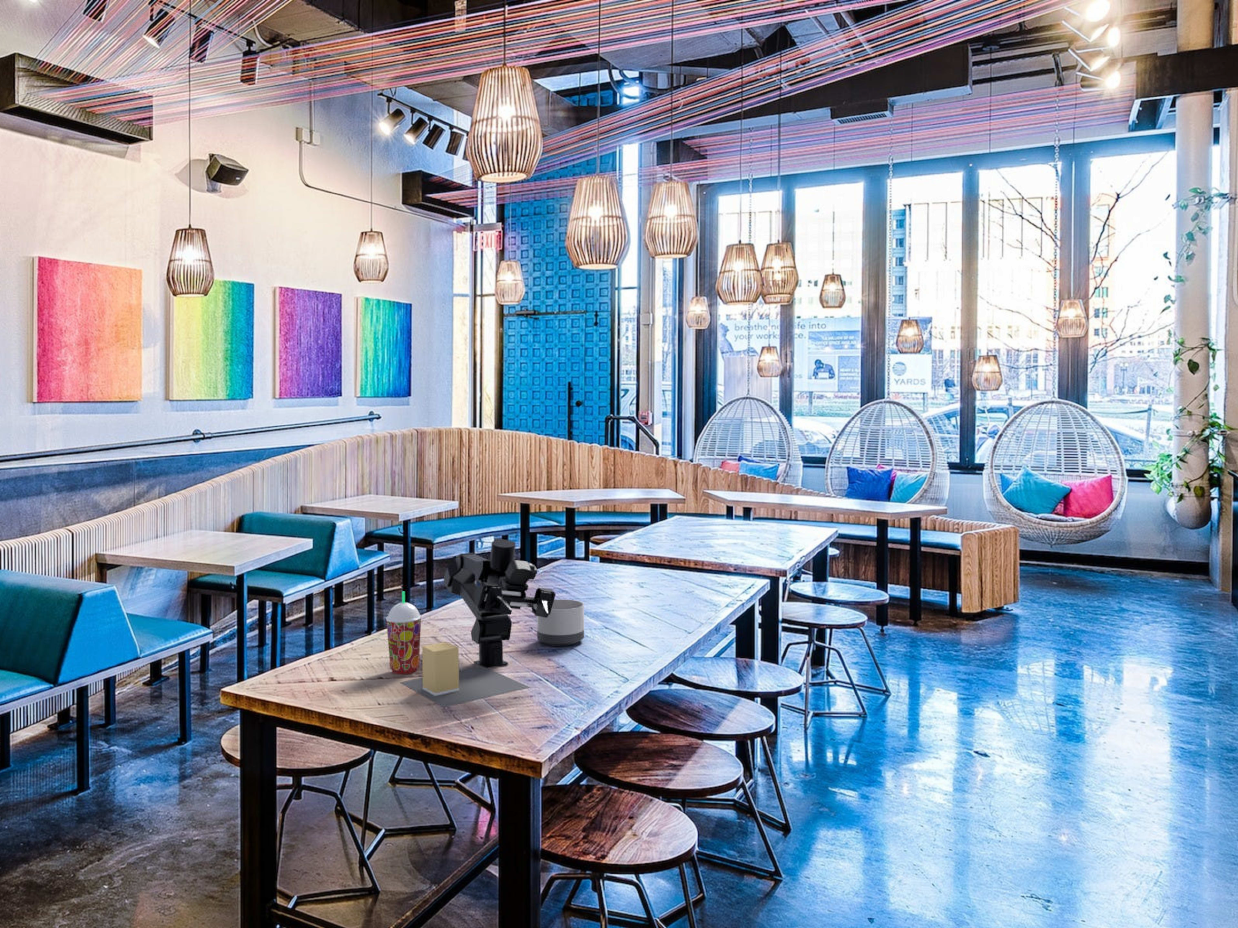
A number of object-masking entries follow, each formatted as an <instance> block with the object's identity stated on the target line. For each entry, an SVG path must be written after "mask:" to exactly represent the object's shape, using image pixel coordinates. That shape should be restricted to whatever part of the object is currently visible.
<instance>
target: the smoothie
mask: <svg viewBox="0 0 1238 928" xmlns="http://www.w3.org/2000/svg"><path fill="white" fill-rule="evenodd" d="M385 619H386V631H387V633H386V634H387V642H388V657H389V658H388V659H389V669H390V670H391V672H392V673H393V674H396V675H408V674H409V675H410V674H413V673H416V672H417V670H418V668H419V667H420V653H421V652H420V650H421V632H422V631H421V629H422V615H421V614H420V612H419V609H417V607H416V606H415V605H414V604H412V603H411V602H407V601H406V591H401V602H399V603H397V604H395V605H393V606H392V607H391V608H390V610H389V612H388V614H387V616H386V617H385Z"/></svg>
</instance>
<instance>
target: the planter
mask: <svg viewBox="0 0 1238 928" xmlns="http://www.w3.org/2000/svg"><path fill="white" fill-rule="evenodd" d="M536 636H537V637H536V639H537V640H538V641H539V642H541V643H543V644H546V645H548V646H552V647H565V646H571V645H574V644H576V643H580V641H582V640H583V639H584V638H585V603H584V602H582V601H579V600H575V599H554V602H553V606H552V609H551V613H550V614H549V615H548V617H547V618H545V617H540V616H536Z"/></svg>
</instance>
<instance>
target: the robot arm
mask: <svg viewBox="0 0 1238 928" xmlns="http://www.w3.org/2000/svg"><path fill="white" fill-rule="evenodd" d="M490 545H491V546H490V548H491V549H490V559H486V558H484V557H483V556H481V555H478V554H477V553H475V552H468V553H467V552H465V553H459V554H457V555H456V558H455V560H454V561H453V562H451V563H450V564H449V565H448V566H447V567H446V570H445V573H444V577H443V583H444V586H445V587H446V589H447V591H448V592H449V593H450V594H453V595H457V596H460V597H461V598H462V600H463V602H464V603H465V604H466V605H467V607H468V609H469V610H470V611H471V613H472V614H473V616H474V617H475V621H474V624H473V626H472V629H471V631H470V635H471V640H472V641H473V643H476V645H478V660H475V661H473V663H474V664H476V665H478V666H483V667H485V668H489V669H490V668H493V667H502V666H508V664H509V662H508V661H506V660H504V648H503V641H510V639H511V634H512V625H513V622H512V620H511V617H510V615H511V614H512V612H513V610H514V609H515V610H521V608H522V607H523V608H531V612H532V613H533V615H534V616H535V617H537V616H540V617H545V618H547V617H548V615H549V614H550V613H551V609H552V606H553V602H554V600H556V592H555V591H553V589H552V588H545V587H538V588H537V589H536V590H535V593H534V596H527V593H526V592H527V591H528V590H529V585H528V581H530V580H535V579H536V578H535V577H536V576H537V574H538V569H537V567H536V566H535V564H533V563H531V562H528V561H525V560H518V559H516V560H515V558H516V557H515V555H516V554H515V553H516V542H515V541H513V540H510V539H503V538H502V537H501V538H499V537H498V538H494V540H493V541H491V544H490ZM477 583H478V584H479V586H478V585H477Z"/></svg>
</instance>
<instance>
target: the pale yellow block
mask: <svg viewBox="0 0 1238 928" xmlns="http://www.w3.org/2000/svg"><path fill="white" fill-rule="evenodd" d="M421 649H422V650H421V651H422V652H421V654H422V657H421V658H422V660H421V661H422V678H423V689H424V690H425V691H427V692H429V693H431V694H433V695H434V696H436V695H441V694H446V693H450V692H455V691H459V670H460V668H459V667H460V666H459V665H460V663H459V661H460V660H459V646H457V645H454V644H452V643H450V642H448V641H444V642H443V641H442V642H438V643H433V644H426V645H422V647H421Z"/></svg>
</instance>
